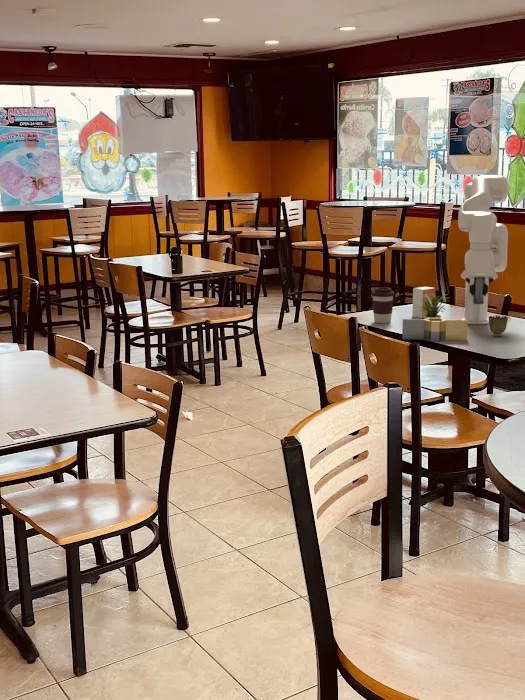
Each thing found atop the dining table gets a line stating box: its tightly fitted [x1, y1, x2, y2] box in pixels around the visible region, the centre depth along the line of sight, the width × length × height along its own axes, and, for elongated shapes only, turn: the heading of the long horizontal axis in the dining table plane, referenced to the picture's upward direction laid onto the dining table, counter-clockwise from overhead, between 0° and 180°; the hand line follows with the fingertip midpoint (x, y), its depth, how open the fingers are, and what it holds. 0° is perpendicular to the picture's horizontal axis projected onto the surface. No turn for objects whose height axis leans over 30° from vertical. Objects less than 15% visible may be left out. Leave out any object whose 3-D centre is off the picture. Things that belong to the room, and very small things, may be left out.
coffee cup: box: [371, 286, 395, 324], centre depth 378 cm, size 10×10×15 cm
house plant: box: [419, 292, 451, 319], centre depth 358 cm, size 14×14×16 cm
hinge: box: [401, 317, 469, 343], centre depth 342 cm, size 8×25×8 cm, turn 81°
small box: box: [412, 286, 436, 319], centre depth 390 cm, size 8×6×13 cm
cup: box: [488, 315, 509, 338], centre depth 346 cm, size 8×7×8 cm
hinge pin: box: [473, 273, 485, 304], centre depth 329 cm, size 5×5×12 cm
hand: (478, 294), depth 330 cm, fingers closed on hinge pin, 4 cm apart
